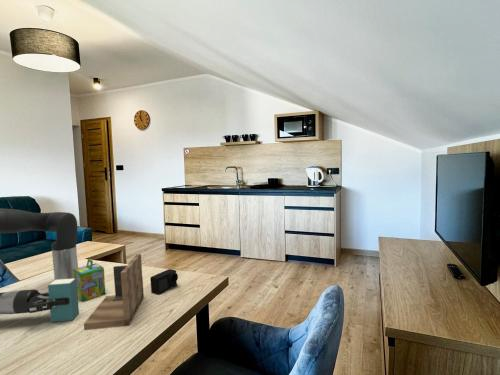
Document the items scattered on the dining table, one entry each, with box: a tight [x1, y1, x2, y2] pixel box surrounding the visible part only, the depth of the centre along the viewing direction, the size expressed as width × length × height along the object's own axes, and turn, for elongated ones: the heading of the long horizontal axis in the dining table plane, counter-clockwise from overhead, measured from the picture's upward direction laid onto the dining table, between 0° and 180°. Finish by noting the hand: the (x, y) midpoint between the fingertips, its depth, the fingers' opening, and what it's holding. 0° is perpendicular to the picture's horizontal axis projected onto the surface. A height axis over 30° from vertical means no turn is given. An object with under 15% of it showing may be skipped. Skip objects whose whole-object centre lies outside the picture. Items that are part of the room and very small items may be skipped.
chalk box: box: [73, 258, 106, 303], centre depth 118 cm, size 9×9×15 cm
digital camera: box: [149, 268, 179, 296], centre depth 121 cm, size 10×5×7 cm, turn 148°
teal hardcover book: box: [47, 278, 80, 323], centre depth 100 cm, size 4×7×13 cm, turn 97°
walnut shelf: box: [83, 253, 145, 330], centre depth 103 cm, size 20×14×18 cm
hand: (72, 297), depth 100 cm, fingers closed on teal hardcover book, 4 cm apart
